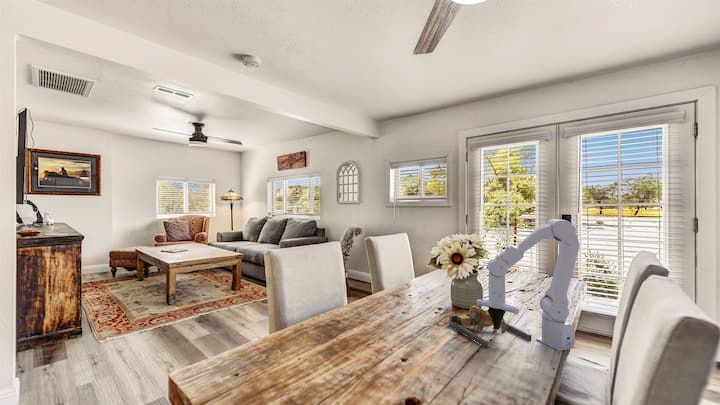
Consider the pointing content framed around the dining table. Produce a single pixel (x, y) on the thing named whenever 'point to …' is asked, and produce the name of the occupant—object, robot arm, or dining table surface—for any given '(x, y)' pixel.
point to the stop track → (465, 319)
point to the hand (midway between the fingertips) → (496, 328)
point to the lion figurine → (483, 317)
